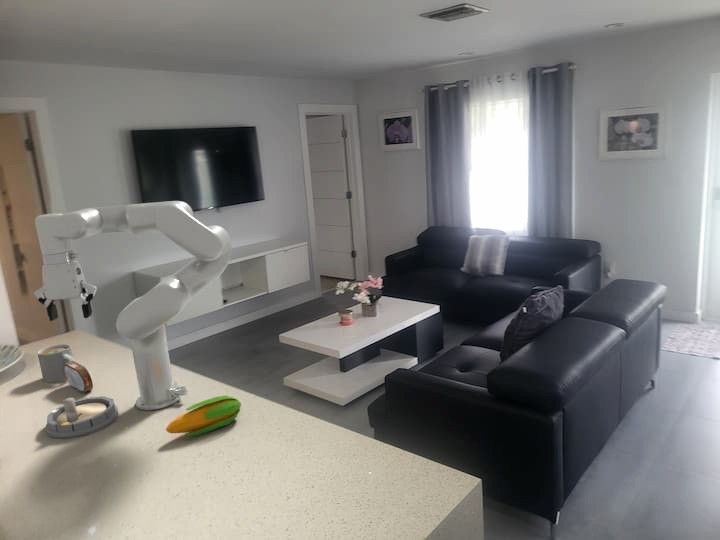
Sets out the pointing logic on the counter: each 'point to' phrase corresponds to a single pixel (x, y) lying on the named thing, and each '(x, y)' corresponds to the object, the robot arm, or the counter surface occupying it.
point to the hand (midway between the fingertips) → (71, 318)
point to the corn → (206, 416)
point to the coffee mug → (54, 362)
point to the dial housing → (83, 426)
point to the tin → (78, 376)
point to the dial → (79, 411)
